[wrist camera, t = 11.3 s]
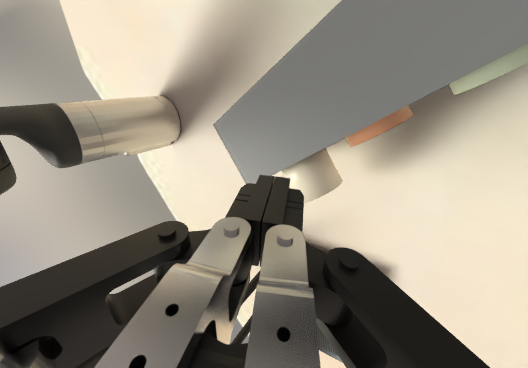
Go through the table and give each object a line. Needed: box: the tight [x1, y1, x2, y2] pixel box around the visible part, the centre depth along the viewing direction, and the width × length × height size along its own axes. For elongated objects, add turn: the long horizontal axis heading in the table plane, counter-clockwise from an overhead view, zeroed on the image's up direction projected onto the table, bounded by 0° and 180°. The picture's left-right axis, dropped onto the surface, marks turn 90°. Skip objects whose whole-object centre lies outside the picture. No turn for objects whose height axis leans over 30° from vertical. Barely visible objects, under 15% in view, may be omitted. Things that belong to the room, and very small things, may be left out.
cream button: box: [281, 148, 343, 203], centre depth 24 cm, size 5×5×5 cm
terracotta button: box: [345, 105, 413, 147], centre depth 18 cm, size 5×5×5 cm
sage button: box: [449, 44, 528, 95], centre depth 14 cm, size 5×5×5 cm
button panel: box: [213, 0, 528, 184], centre depth 20 cm, size 7×23×13 cm, turn 126°
